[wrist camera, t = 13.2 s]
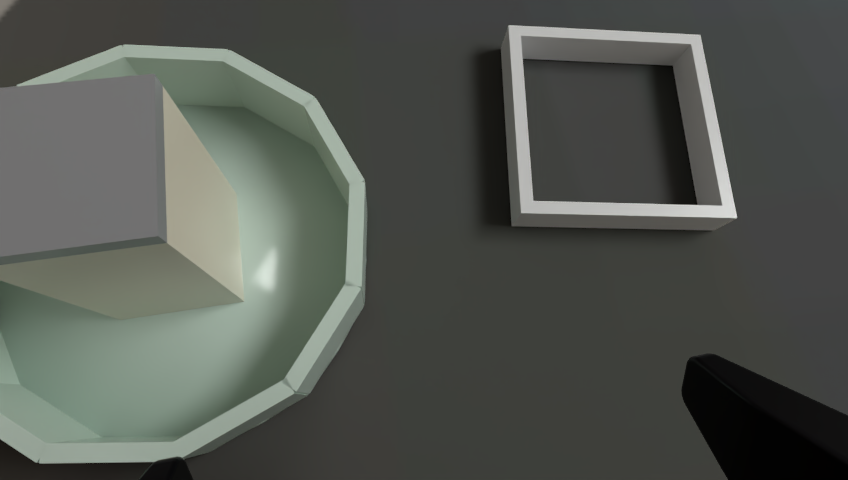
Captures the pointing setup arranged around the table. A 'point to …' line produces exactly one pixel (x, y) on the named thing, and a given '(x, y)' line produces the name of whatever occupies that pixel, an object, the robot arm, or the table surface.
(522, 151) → the square frame
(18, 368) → the serving bowl
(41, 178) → the cream grey rectangular block
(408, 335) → the table surface
